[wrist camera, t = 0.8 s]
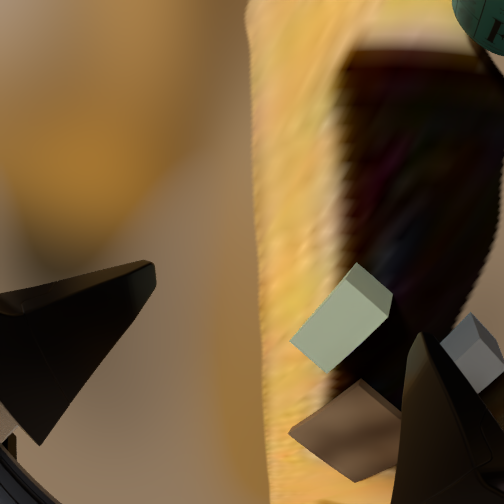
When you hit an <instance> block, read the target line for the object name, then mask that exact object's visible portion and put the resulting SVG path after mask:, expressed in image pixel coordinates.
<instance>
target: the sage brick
mask: <svg viewBox="0 0 504 504" xmlns="http://www.w3.org/2000/svg"><path fill="white" fill-rule="evenodd" d="M392 296H393V294H392V293H391V292H390V291H389V290H388V289H386V288H385V287H384V286H383V285H382V284H381V283H380V282H379V281H377V280H376V279H375V278H374V277H373V276H372V275H371V274H369V273H368V272H367V271H366V270H365V269H364V268H362V267H361V266H360V265H359V264H358V263H357V262H356V264H355V265H354V266H353V267H352V269H351V270H350V271H349V272H348V273H347V275H346V276H345V277H344V278H343V279H342V281H341V282H340V283H339V284H338V285H337V286H336V288H335V289H334V290H333V291H332V292H331V293H330V295H329V296H328V297H327V298H326V299H325V300H324V301H323V303H322V304H321V305H320V306H319V307H318V308H317V309H316V310H315V312H314V313H313V314H312V315H311V316H310V317H309V318H308V319H307V321H306V322H305V323H304V324H303V325H302V327H301V328H300V329H299V330H298V331H297V333H296V334H295V335H294V336H293V337H292V339H291V340H290V342H291V343H292V344H293V345H294V346H295V347H297V348H298V349H299V350H300V351H301V352H302V353H303V354H305V355H306V356H307V357H308V358H309V359H310V360H312V361H313V362H314V363H315V364H316V365H317V366H319V367H320V368H321V369H322V370H323V371H324V372H326V373H328V372H329V371H331V370H332V369H333V368H334V367H335V366H336V365H337V364H339V363H340V362H341V361H342V360H343V359H344V358H345V357H347V356H348V355H349V354H350V353H351V352H352V351H353V350H354V349H355V348H356V347H358V346H359V345H360V344H361V343H362V342H363V341H364V340H365V339H366V338H367V337H368V336H369V335H370V334H371V333H372V332H373V331H374V330H375V329H376V328H377V327H379V326H380V325H381V324H382V323H383V322H384V321H385V320H386V319H387V318H388V316H389V311H390V306H391V301H392Z"/></svg>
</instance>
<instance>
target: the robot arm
mask: <svg viewBox="0 0 504 504" xmlns="http://www.w3.org/2000/svg"><path fill="white" fill-rule="evenodd" d="M155 287H156V273H155V265H154V263H152V262H150V261H146V260H141V261H136V262H132V263H128V264H124V265H120V266H115V267H111V268H107V269H103V270H99V271H95V272H91V273H87V274H83V275H80V276H75V277H71V278H67V279H63V280H59V281H58V282H57V281H55V282H51V283H48V284H43V285H39V286H35V287H31V288H25V289H20V290H15V291H10V292H5V293H0V504H61V503H60V502H59V501H58V500H57V499H55V498H54V497H53V496H52V495H51V494H50V493H49V492H48V491H46V490H45V489H44V488H43V487H42V486H41V485H40V484H39V483H38V482H37V481H36V480H35V479H34V478H33V477H32V476H31V475H30V474H29V473H28V472H27V471H26V470H25V469H24V468H23V467H22V466H21V465H20V464H19V463H18V462H17V456H16V455H17V452H16V436H15V435H14V434H13V431H14V430H15V429H16V428H17V427H18V426H20V427H21V429H22V430H23V431H24V432H25V433H26V434H27V435H28V436H29V437H30V438H31V439H32V440H33V441H34V442H35V443H36V444H38V445H39V446H40V445H41V444H42V443H43V442H44V440H45V439H46V437H47V436H48V434H49V433H50V432H51V430H52V429H53V427H54V426H55V425H56V423H57V422H58V420H59V419H60V417H61V416H62V415H63V413H64V412H65V411H66V409H67V408H68V406H69V405H70V403H71V402H72V401H73V399H74V398H75V396H76V395H77V394H78V392H79V391H80V390H81V388H82V387H83V386H84V384H85V383H86V382H87V380H88V379H89V378H90V376H91V375H92V374H93V372H94V371H95V370H96V368H97V367H98V366H99V365H100V363H101V362H102V361H103V359H104V358H105V357H106V355H107V354H108V353H109V352H110V350H111V349H112V348H113V347H114V345H115V344H116V342H117V341H118V340H119V339H120V338H121V336H122V335H123V334H124V333H125V331H126V330H127V329H128V328H129V326H130V325H131V324H132V322H133V321H134V320H135V318H136V317H137V315H138V314H139V312H140V311H141V309H142V308H143V306H144V305H145V303H146V302H147V300H148V299H149V297H150V296H151V294H152V292H153V291H154V289H155ZM391 504H504V431H503V430H502V429H501V427H500V426H499V424H498V423H497V421H496V420H495V418H494V417H493V416H492V414H491V413H490V411H489V410H488V408H486V405H485V404H484V402H483V401H482V399H481V398H480V397H479V395H478V394H477V392H476V391H475V390H474V388H473V387H472V385H471V384H470V383H469V381H468V380H467V378H466V377H465V376H464V374H463V373H462V372H461V370H460V369H459V368H458V366H457V365H456V364H455V362H454V361H453V360H452V358H451V357H450V356H449V355H448V353H447V352H446V351H445V349H444V348H443V347H442V346H441V344H440V343H439V342H438V341H437V339H436V338H435V337H434V336H433V334H431V333H426V332H420V333H419V334H418V335H417V337H416V339H415V341H414V343H413V345H412V347H411V349H410V351H409V354H408V358H407V367H406V375H405V383H404V390H403V397H402V412H401V428H400V440H399V450H398V459H397V467H396V474H395V481H394V488H393V493H392V499H391Z"/></svg>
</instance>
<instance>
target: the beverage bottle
mask: <svg viewBox="0 0 504 504" xmlns="http://www.w3.org/2000/svg"><path fill="white" fill-rule="evenodd" d="M452 6H453V10H454V13H455V16H456V18H457V20H458V22H459V24H460V25H461V27H462V28H463V30H464V31H465V32H466V33H467V34H468V35H469V36H470V37H471V38H472V39H473V40H474V41H475V42H476V43H478V44H479V45H480V46H482V47H483V48H485V49H487V50H488V51H490V52H492V53H495V54H497V55H501V56H504V0H452Z"/></svg>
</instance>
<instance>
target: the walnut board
mask: <svg viewBox="0 0 504 504" xmlns="http://www.w3.org/2000/svg"><path fill="white" fill-rule="evenodd" d="M400 428H401V412H400V411H399V410H398V409H397V408H396V407H394V406H393V405H392V404H391V403H390V402H388V401H387V400H386V399H385V398H384V397H383V396H381V395H380V394H379V393H378V392H377V391H375V390H374V389H373V388H372V387H371V386H369V385H368V384H367V383H366V382H365V381H364V380H362V379H360V380H358V381H357V382H356V383H354V384H353V385H352V386H351V387H349V388H348V389H347V390H345V391H344V392H343V393H341V394H340V395H339V396H337V397H336V398H335V399H333V400H332V401H330V402H329V403H328V404H326V405H325V406H323V407H322V408H320V409H319V410H318V411H316V412H315V413H313V414H312V415H310V416H309V417H307V418H306V419H304V420H303V421H301V422H300V423H298V424H297V425H295V426H293V427H292V428H291V430H290V431H289V433H288V434H289V435H290V436H291V437H292V438H294V439H295V440H296V441H298V442H299V443H300V444H301V445H303V446H304V447H305V448H307V449H308V450H309V451H311V452H312V453H313V454H315V455H316V456H317V457H319V458H320V459H321V460H323V461H324V462H326V463H327V464H328V465H330V466H331V467H333V468H334V469H335V470H337V471H338V472H340V473H341V474H343V475H344V476H346V477H347V478H348V479H350V480H351V481H353V482H354V483H356V482H358V481H361V480H363V479H366V478H368V477H370V476H373V475H375V474H377V473H379V472H381V471H384V470H386V469H388V468H390V467H392V466H394V465H396V464H397V459H398V450H399V440H400Z"/></svg>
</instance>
